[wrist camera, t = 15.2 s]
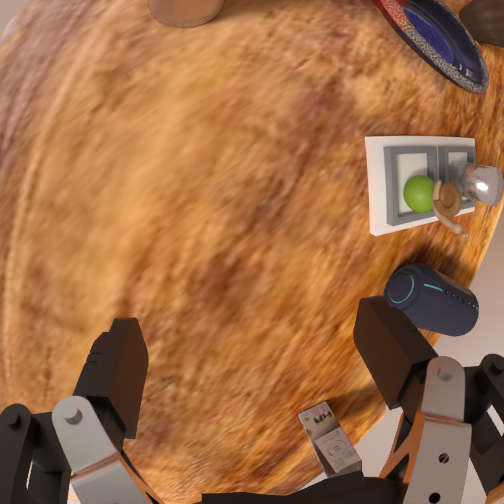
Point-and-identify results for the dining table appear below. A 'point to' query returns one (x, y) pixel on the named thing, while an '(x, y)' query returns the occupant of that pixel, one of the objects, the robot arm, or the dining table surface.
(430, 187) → the snail figurine
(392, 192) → the compartment tray
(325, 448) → the coffee box
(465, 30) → the dish
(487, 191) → the silver metal cylinder
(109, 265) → the dining table surface
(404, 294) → the portable speaker
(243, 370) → the dining table surface
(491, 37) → the plant pot
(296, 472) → the dining table surface
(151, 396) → the dining table surface
